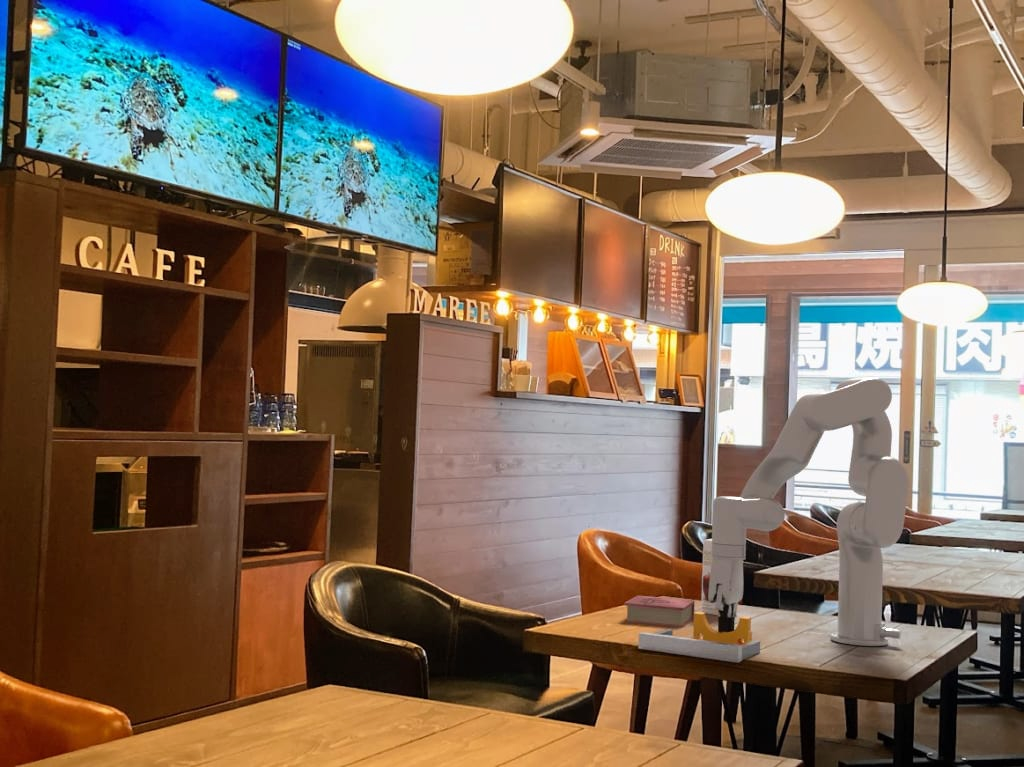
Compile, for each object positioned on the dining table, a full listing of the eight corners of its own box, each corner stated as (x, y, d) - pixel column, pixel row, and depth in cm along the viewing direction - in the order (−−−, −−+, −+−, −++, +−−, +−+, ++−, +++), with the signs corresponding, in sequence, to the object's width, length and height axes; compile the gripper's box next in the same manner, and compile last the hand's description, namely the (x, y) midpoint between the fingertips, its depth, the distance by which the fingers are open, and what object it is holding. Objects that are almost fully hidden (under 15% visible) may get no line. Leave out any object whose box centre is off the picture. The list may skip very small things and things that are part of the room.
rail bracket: (761, 652, 243) (761, 637, 243) (738, 662, 231) (738, 646, 231) (665, 639, 254) (665, 625, 254) (638, 648, 242) (638, 633, 242)
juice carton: (716, 610, 302) (718, 538, 303) (741, 615, 296) (744, 541, 296) (697, 612, 297) (699, 538, 298) (722, 617, 291) (724, 541, 292)
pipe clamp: (751, 645, 252) (752, 616, 252) (747, 649, 248) (748, 618, 248) (698, 640, 257) (699, 610, 257) (693, 642, 253) (694, 613, 253)
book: (694, 620, 287) (694, 599, 287) (682, 628, 273) (683, 607, 273) (638, 614, 292) (638, 595, 292) (623, 623, 277) (624, 602, 278)
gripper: (724, 548, 265) (722, 628, 264) (700, 552, 252) (697, 636, 251) (755, 551, 261) (753, 632, 260) (732, 555, 248) (730, 641, 248)
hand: (726, 634), depth 256 cm, fingers closed
